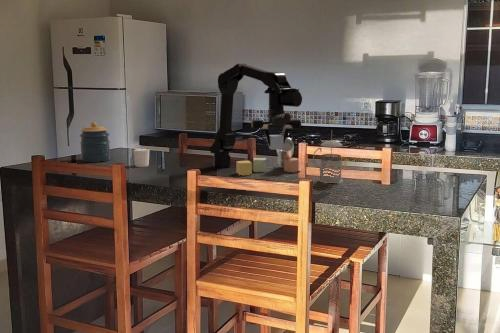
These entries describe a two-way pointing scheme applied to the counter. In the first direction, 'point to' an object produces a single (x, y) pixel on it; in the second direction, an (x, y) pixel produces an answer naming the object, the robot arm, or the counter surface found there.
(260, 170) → the sage block
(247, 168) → the ochre block
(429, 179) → the counter surface
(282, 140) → the grey cube
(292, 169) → the terracotta block
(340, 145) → the french press
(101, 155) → the canister
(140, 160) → the white cup
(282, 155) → the beer glass
